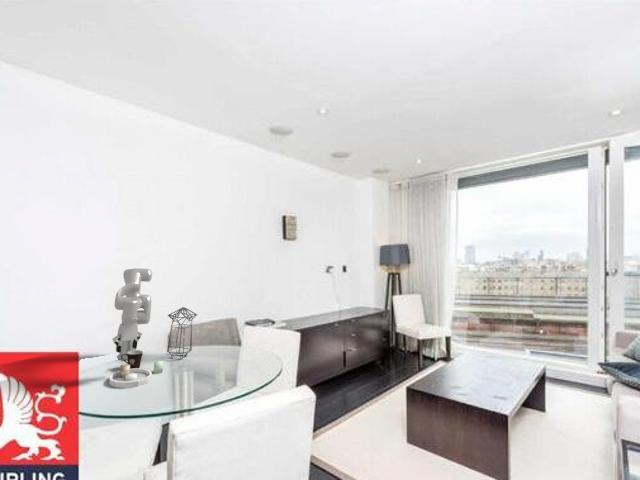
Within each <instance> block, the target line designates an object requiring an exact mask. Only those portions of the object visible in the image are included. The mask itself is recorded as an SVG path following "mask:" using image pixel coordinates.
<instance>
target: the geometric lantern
mask: <svg viewBox="0 0 640 480" xmlns="http://www.w3.org/2000/svg"><path fill="white" fill-rule="evenodd" d="M180 315H182V316H180ZM197 316H198V314H197V313H195V312H193V311H192V310H190V309H188V308H187V307H185V306H183V307H181V308H179V309H177V310H175V311H173V312H171V313H169V314H167V317H168V318H170V319H171V321H172V322H171V326H170V332H169V336H168V344H167V347H166V348H167V349H166V352H167V353H169V355H170V358H171V357H172V356H174V357H179V360H182V357H184V356H183V355H187V356H188V353H190V352H191V351H192V350H193V349H192V348H193V345H192V344H193V343H192V341H193V340H192V339H193V337H192V335H193V331H192V329H193V323H192V321H193V320H194V318H196V317H197ZM183 319H184V320H183ZM181 320H183V321H182V323H181V322H180V321H181ZM186 320H187V322H186V323H185V321H186ZM174 322H177V323H178V324H174ZM188 322H189V326H187V325H188ZM184 323H185V324H184ZM173 324H174V325H173ZM177 326H178V327H177ZM185 326H187V327H185ZM173 327H174V328H175V329H177V335H176V340H175V347H173V348H171V349H170V344H171V336H172V329H173ZM187 328H190V339H189V340H190V344H189V348H187V347H185V339H183V341H182V332H183V335H185V329H187ZM179 330H180V336H179ZM178 336H179V337H178ZM178 339H179V346H178V347H177V345H178ZM182 342H183V343H182ZM181 343H182V344H183V345H182V344H181ZM181 346H182V347H181ZM181 349H182V351H181ZM172 350H175V352H174V351H172ZM185 350H187V351H185ZM176 354H180V355H176ZM172 358H173V357H172Z"/></svg>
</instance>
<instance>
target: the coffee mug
mask: <svg viewBox="0 0 640 480" xmlns="http://www.w3.org/2000/svg"><path fill="white" fill-rule="evenodd" d="M143 352H144V351H143V350H140V349H136V350H133V351H129V352H128V353H127V354H123V355H127V357H128V360H124V359H123V358H122V356H123V355H122V356H121V358H122V361H123V362H125V364H129V365H130V369H133V368H140V369H141V362H142V359H143V358H142V357H143Z"/></svg>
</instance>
